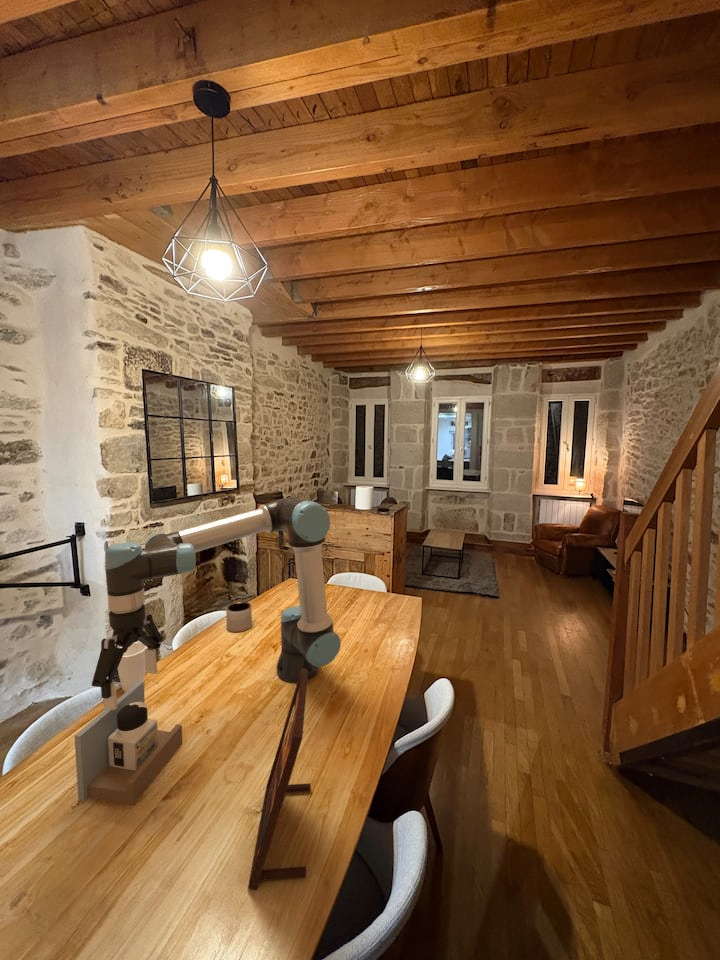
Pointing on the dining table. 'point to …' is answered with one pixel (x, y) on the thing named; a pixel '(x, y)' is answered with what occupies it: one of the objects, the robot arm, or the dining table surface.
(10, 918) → the dining table surface
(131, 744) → the container
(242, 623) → the planter
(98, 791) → the wall shelf
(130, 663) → the foam cup
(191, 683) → the dining table surface
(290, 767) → the picture frame
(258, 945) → the dining table surface
